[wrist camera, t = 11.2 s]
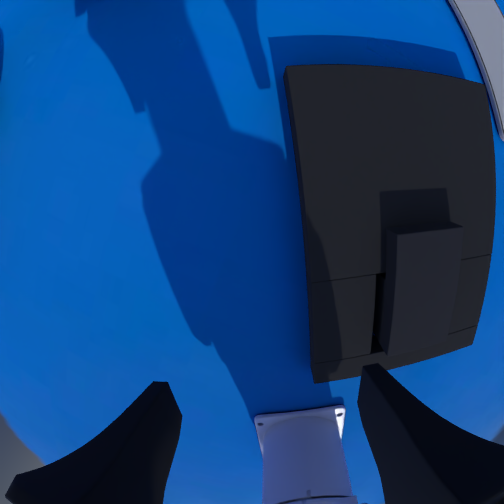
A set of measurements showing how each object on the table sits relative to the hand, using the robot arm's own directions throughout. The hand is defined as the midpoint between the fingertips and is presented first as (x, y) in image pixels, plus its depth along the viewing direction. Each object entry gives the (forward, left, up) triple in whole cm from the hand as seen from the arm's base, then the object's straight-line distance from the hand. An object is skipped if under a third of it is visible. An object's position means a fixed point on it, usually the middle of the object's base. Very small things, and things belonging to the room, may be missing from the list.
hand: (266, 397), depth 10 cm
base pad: (+3, -10, -9) cm, 14 cm away
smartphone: (+17, -22, -9) cm, 29 cm away
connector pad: (0, -10, -9) cm, 14 cm away
